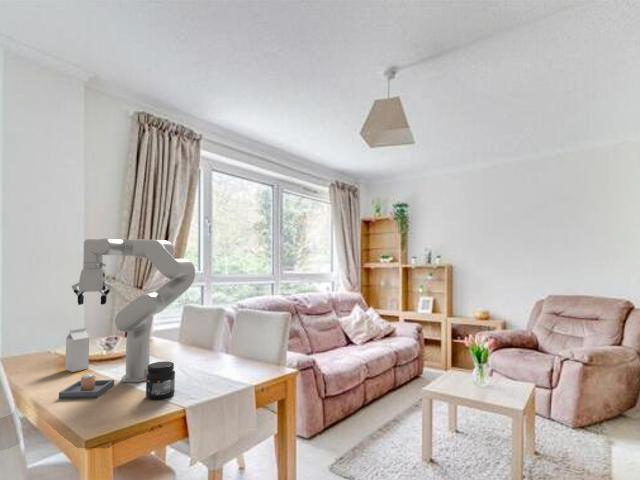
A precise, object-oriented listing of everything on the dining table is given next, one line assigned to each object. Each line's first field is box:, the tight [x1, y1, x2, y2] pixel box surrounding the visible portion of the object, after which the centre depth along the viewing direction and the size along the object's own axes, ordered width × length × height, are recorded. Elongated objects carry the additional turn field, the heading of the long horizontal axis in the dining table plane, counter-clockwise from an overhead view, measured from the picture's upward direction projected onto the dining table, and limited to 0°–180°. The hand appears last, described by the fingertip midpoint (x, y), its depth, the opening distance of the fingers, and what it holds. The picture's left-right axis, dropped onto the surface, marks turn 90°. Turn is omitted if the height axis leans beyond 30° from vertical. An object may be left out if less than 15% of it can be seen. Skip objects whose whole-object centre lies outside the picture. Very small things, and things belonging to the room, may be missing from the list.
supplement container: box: [145, 360, 176, 401], centre depth 149 cm, size 10×10×12 cm
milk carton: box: [64, 327, 90, 373], centre depth 183 cm, size 7×7×19 cm
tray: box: [58, 379, 115, 400], centre depth 152 cm, size 14×14×2 cm
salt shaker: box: [80, 373, 96, 391], centre depth 152 cm, size 5×5×6 cm
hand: (92, 304), depth 173 cm, fingers open, 9 cm apart
